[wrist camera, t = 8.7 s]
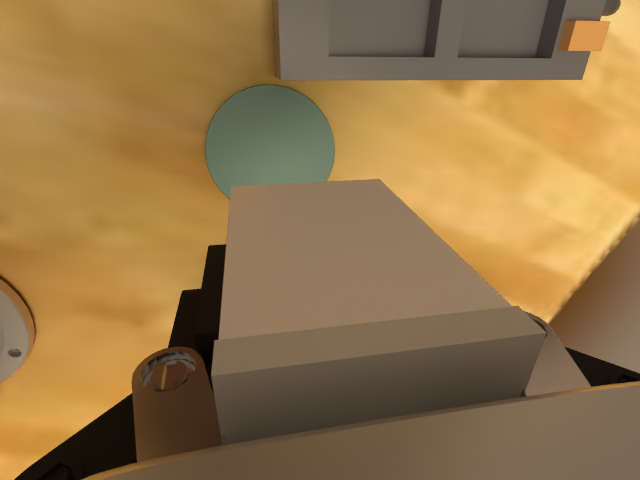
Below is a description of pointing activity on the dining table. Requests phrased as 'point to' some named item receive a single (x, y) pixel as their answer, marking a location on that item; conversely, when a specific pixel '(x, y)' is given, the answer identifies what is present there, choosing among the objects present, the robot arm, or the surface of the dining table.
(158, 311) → the dining table surface
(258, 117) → the coaster
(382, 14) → the power strip
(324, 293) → the block
